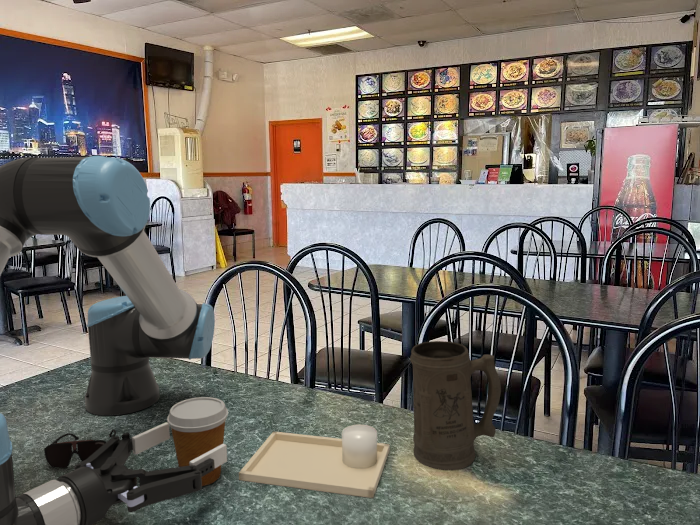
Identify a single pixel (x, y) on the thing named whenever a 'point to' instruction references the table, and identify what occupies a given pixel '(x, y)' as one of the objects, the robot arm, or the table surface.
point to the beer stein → (449, 404)
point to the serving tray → (312, 465)
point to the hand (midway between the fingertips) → (195, 440)
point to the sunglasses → (63, 452)
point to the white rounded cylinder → (359, 446)
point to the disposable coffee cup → (198, 430)
